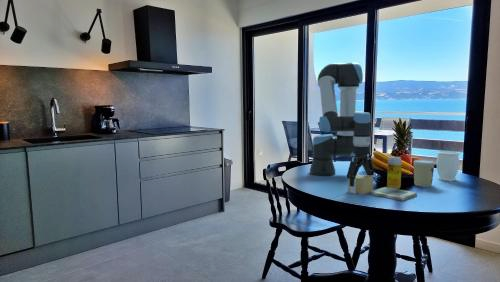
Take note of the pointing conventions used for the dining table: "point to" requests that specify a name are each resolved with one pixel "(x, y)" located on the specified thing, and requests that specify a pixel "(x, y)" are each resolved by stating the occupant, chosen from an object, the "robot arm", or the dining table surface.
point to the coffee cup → (423, 173)
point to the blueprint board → (393, 193)
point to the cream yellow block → (362, 184)
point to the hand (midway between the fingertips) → (360, 190)
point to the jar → (447, 165)
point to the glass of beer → (394, 172)
